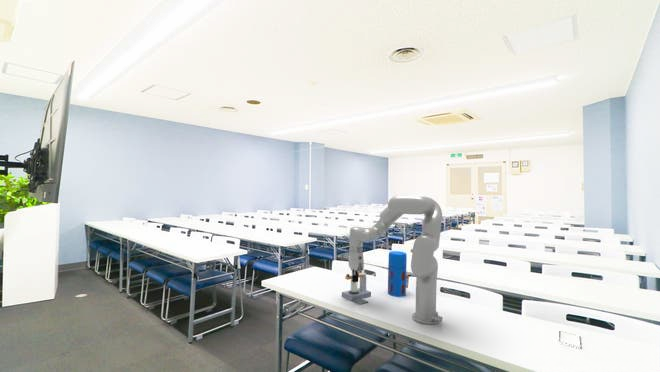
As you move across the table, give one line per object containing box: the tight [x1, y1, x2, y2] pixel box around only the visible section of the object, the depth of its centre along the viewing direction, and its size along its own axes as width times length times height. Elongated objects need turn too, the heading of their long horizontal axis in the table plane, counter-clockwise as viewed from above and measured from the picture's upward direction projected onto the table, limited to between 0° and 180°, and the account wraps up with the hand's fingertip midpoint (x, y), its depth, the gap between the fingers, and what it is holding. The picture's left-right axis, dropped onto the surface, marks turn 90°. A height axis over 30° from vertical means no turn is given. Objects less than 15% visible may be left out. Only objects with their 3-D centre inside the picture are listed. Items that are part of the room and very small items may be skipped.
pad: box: [352, 298, 369, 306], centre depth 163 cm, size 6×6×1 cm
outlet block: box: [341, 275, 372, 302], centre depth 172 cm, size 9×15×11 cm, turn 126°
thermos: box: [387, 250, 408, 298], centre depth 179 cm, size 11×11×25 cm
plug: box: [349, 279, 359, 295], centre depth 171 cm, size 5×5×10 cm
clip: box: [345, 272, 367, 280], centre depth 172 cm, size 15×3×3 cm, turn 126°
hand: (355, 281), depth 165 cm, fingers closed
